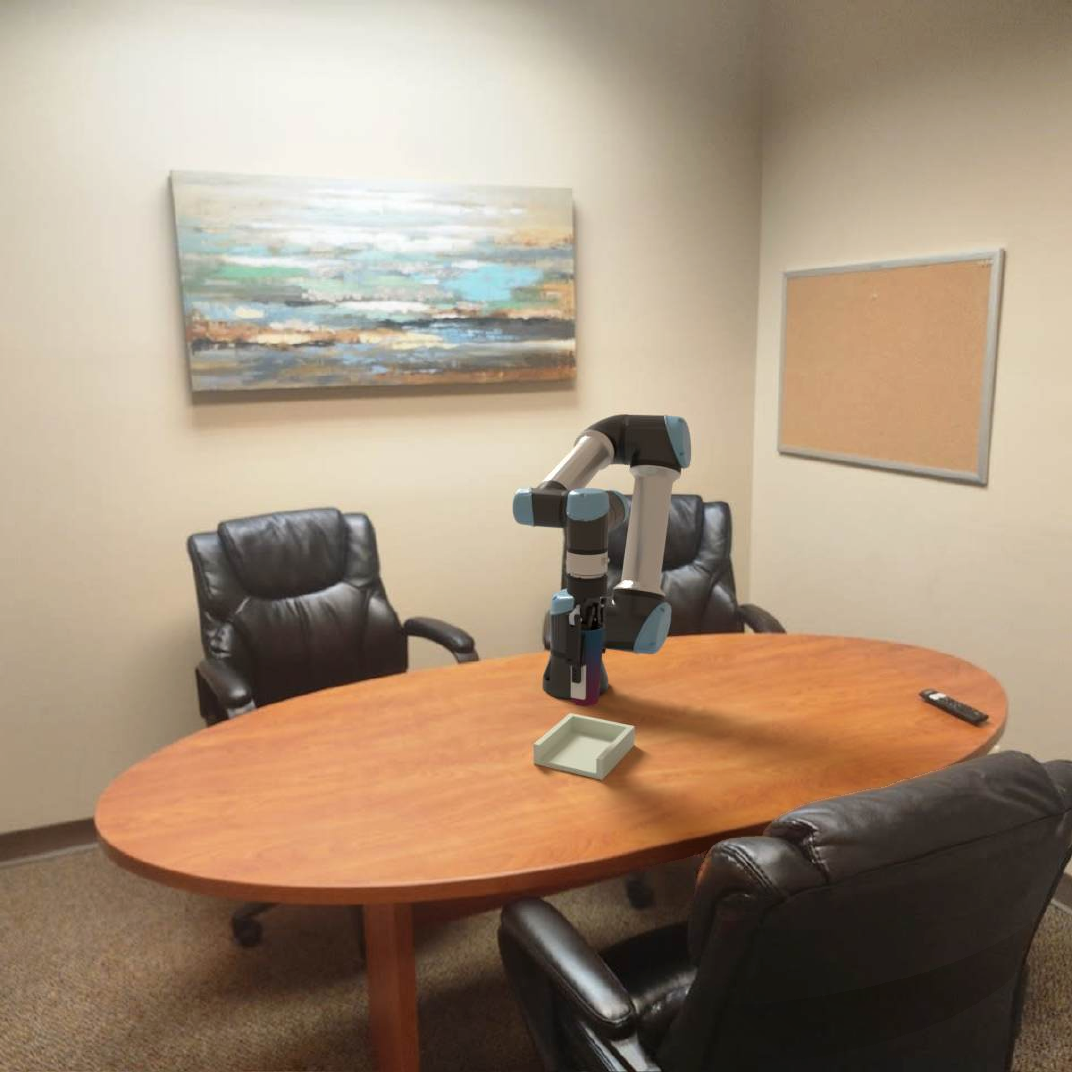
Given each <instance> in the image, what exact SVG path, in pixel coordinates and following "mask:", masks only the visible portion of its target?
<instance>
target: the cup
mask: <svg viewBox="0 0 1072 1072" xmlns="http://www.w3.org/2000/svg"><path fill="white" fill-rule="evenodd" d="M581 625H585V624H581ZM604 627H605V626H604V624H603V623H601V622H599V623H598V630H593V631H582V630H581V635H583V634H584V633H585V639H586V651H585V658H584V665H586V699H584V700H583V699H578V698H572V699H571V701H572V703H574V704H575V705H578V706H581V707H582V706H583V707H591V706H594V705H596V704H598V703H599V699H600V696H599V689H600V677H601V664H602V660H603V653H602V652H603V640H604ZM570 670H571V665H570Z"/></svg>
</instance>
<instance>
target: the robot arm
mask: <svg viewBox="0 0 1072 1072" xmlns="http://www.w3.org/2000/svg"><path fill="white" fill-rule="evenodd" d="M691 462H692V444H691V433H690V428H689V425H688V423H687V420H685V419H684V418H683V417H681V416H675V415H668V414H664V415H661V414H660V415H653V414H652V415H651V414H628V413H627V414H626V413H625V414H623V413H622V414H621V413H620V414H615V415H611V416H608V417H605V418H604V419H603V418H602V419H601V420H598V421H597V422H595V423H592V425H590V426H587V428H585V429H584V430H583V431H582V432H581V433H580V434H579V435H578V436H577V437H576V438H575V440H574V444H573V448H572V449H570V451H569V452H568V453H567V454H566V456H565V457H564V458H562V460H561V461H560V462H559V463H558V464H557V465H556V466H555V467H554V468H553V470H552V471H551V472H550V473H549V474H548V475H547V476H546V477H545V478H544V479H543V480H542V481H541V482H540V484H539V485H538V486H536V487H532V486H529V487H520V488H518V489H517V490H516V491H515V493H514V496H513V500H512V515H513V518H514V520H515V521H516V523H517V524H519V525H522V526H523V525H524V526H530V527H533V528H535V527H539V528H551V529H552V528H553V529H566V538H567V539H566V572H567V573H568V574H567V575H566V588H563V589H561V590H559V591H557V592H555V593H554V594H552V597H551V598H550V610H549V622H550V623H549V633H550V634H549V642H550V643H549V646H550V647H549V651H550V652H549V653H550V655H549V658H548V661H547V663H546V666H545V668H544V672H543V676H542V689H543V691H544V692H546V693H547V694H548V695H550V696H554V697H557V698H559V699H566V700H567V699H569V700H572V698H578V699H583V700H584V699H586V665H584V658H585V651H586V639H585V633H584V634H583V635H581V630H582V631H593V630H598V623H599V622H601V623H603V624H604V626H605V627H604V640H603V652H602V655H603V654H606V650H611V651H616V652H617V651H619V652H625V653H632V654H636V655H639V654H643V655H655V654H657V653H658V652H659V651H660V650H661V649H662V648H663V646H664V644H665V643H666V640H667V637H668V634H669V630H670V626H671V622H672V606H671V605H670V603H669V602H666V601H665V600H666V594H665V593H664V591H663V590H662V589H661V587H660V586H661V577H662V569H663V564H664V563H663V562H664V554H665V549H666V548H665V547H666V538H667V533H668V532H667V531H668V523H669V515H670V508H671V498H672V492H673V486H674V485H673V484H674V482H677V480H679V479H680V478H681V475H682V469H683V470H685V469H688V468H689V467H690V465H691ZM610 465H612V466H613V465H622V466H629V470H628V471H629V473H630V474H631V475H632V476H633V478H634V483H633V492H632V498H631V499H632V500H631V505H630V506H629V501H628V500H627V497H626V496H625V495H624V494H622V492H620V491H618V490H615V489H602V488H593V487H591V488H589V487H587V486H588V485H589V483H590V482H591V481H592V480H593V478H594V477H595V476H596V474H598V472H599V471H603V470H605V469H607V467H609V466H610ZM629 513H630V514H629ZM628 517H629V520H628V529H627V535H626V542H625V543H626V544H625V551H624V556H623V567H622V571H621V573H622V574H621V581H620V582H619V583H618V584H616V586H614V587H613V588H612V594H611V595H612V596H606V595H607V593H608V575H607V574H606V573H607V572H608V563H610V558H609V557H608V556H609V555H608V554H609V553H608V551H609V534H610V533H611V532H612V531H614V530H617V529H619V528H620V527H621V526H622V525H623V524H624V523H625V522H626V520H627V519H628ZM581 624H585V625H581ZM603 660H604V659H602V664H601V677H600V689H599V697H600V696H602V695H604V694H605V693H607V692H608V690H609V677H608V673H607V669H606V667H605V663H604V661H603ZM570 665H571V670H570Z"/></svg>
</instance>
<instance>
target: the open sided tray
mask: <svg viewBox="0 0 1072 1072" xmlns="http://www.w3.org/2000/svg"><path fill="white" fill-rule="evenodd" d="M635 729H636V727H635V726H634V725H631V724H625V723H620V722H616V721H611V720H606V719H601V718H596V717H591V716H587V715H582V714H577V713H572V712H570V713H568V714H567V715H566V716H565V717H563V718H562V719H561V720H560V721H559V722H557V723H556V724H555V725H554V726H553V727H552V728H550V730H548V731H547V732H546V733H545V734H544V735H543V736H541V737H540V738H538V740H536V742H534V743H533V764H534V765H537V766H543V767H546V768H549V769H550V768H551V769H554V770H559V771H561V772H562V771H564V772H567V773H571V774H575V775H579V776H584V777H588V778H592V779H597V780H600V781H603V780H604V779H605V777H606V776H607V775H609V773H610V772H611V771H612V770H614V768H615V767H616V766H617V765H618V763H620V761H621V760H622V759H623V758H624V757H625V756H626V755H627V754H628V752H630V750H631V749H633V747H635V737H636V736H635V733H636V732H635V731H636V730H635Z"/></svg>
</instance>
